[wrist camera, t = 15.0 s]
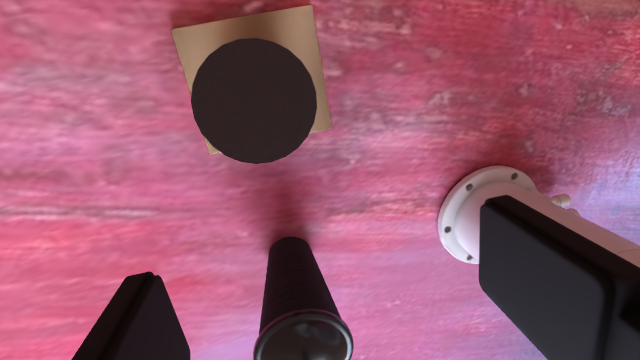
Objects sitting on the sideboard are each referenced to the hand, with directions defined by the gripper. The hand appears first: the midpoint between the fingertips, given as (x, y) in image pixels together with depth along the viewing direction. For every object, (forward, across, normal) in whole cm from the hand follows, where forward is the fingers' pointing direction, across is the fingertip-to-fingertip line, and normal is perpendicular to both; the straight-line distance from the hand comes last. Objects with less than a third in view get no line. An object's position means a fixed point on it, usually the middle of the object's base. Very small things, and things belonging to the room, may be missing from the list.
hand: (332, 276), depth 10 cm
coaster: (+24, +2, -4) cm, 25 cm away
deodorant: (+24, +2, -4) cm, 24 cm away
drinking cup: (+25, +2, +15) cm, 29 cm away
